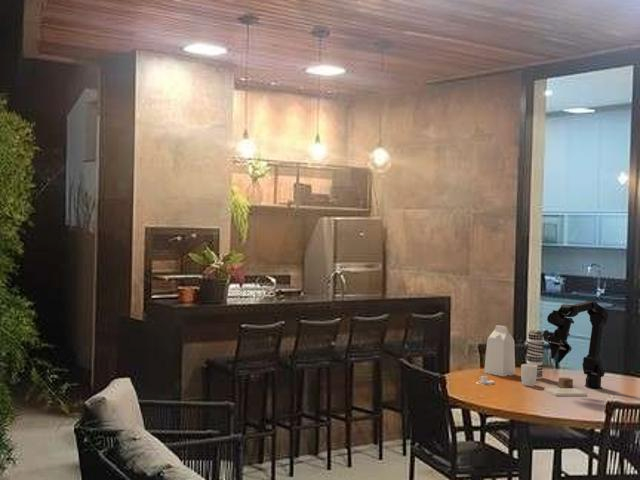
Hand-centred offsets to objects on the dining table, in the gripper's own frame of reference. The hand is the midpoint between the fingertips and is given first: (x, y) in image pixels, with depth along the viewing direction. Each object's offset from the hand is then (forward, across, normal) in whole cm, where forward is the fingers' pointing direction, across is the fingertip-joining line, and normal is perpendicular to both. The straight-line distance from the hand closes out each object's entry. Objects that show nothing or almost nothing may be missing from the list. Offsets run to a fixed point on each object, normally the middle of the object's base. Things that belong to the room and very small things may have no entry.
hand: (555, 360), depth 379 cm
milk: (+10, -34, -40) cm, 54 cm away
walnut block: (+10, -21, +1) cm, 23 cm away
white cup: (+13, -16, -16) cm, 26 cm away
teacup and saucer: (+20, -2, -31) cm, 37 cm away
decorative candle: (+7, -37, -22) cm, 44 cm away
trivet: (+13, -9, +6) cm, 17 cm away
